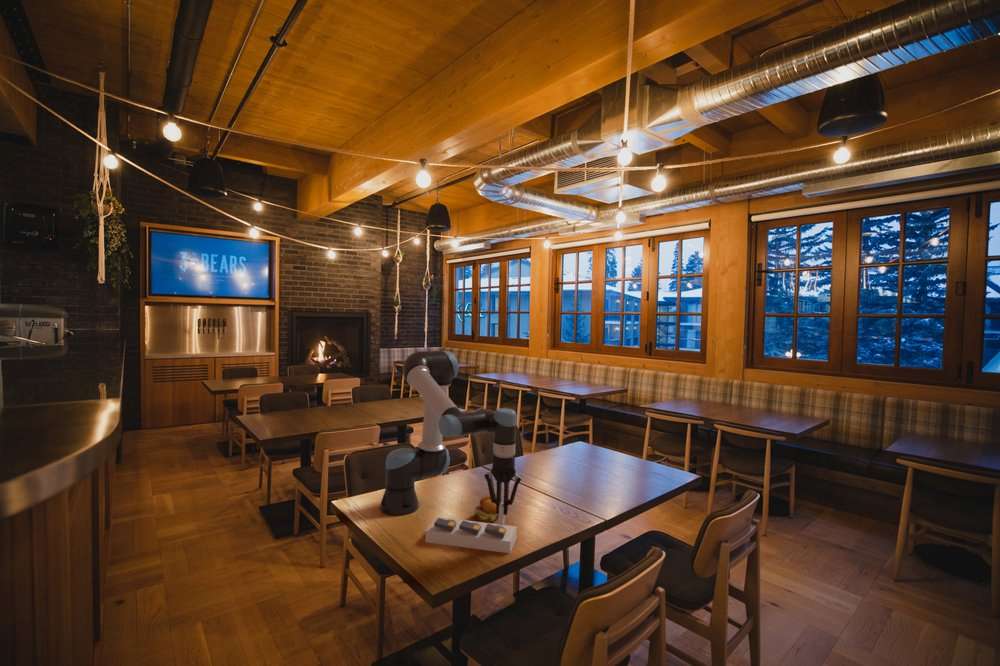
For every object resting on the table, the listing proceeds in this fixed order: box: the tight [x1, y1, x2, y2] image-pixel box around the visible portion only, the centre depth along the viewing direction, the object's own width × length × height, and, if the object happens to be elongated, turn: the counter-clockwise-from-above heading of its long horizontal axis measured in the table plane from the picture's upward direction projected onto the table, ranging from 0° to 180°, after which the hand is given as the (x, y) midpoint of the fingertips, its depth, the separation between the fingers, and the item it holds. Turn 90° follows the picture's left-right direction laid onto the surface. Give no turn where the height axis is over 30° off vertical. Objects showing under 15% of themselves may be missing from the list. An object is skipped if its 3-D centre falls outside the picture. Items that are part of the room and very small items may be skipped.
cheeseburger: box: [473, 494, 499, 523], centre depth 185 cm, size 10×11×10 cm
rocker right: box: [484, 524, 506, 538], centre depth 161 cm, size 7×4×2 cm, turn 78°
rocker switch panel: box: [425, 516, 518, 554], centre depth 166 cm, size 30×12×4 cm, turn 78°
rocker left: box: [434, 518, 457, 531], centre depth 165 cm, size 7×4×2 cm, turn 78°
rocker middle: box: [459, 520, 481, 535], centre depth 163 cm, size 7×4×2 cm, turn 78°
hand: (501, 523), depth 161 cm, fingers closed
